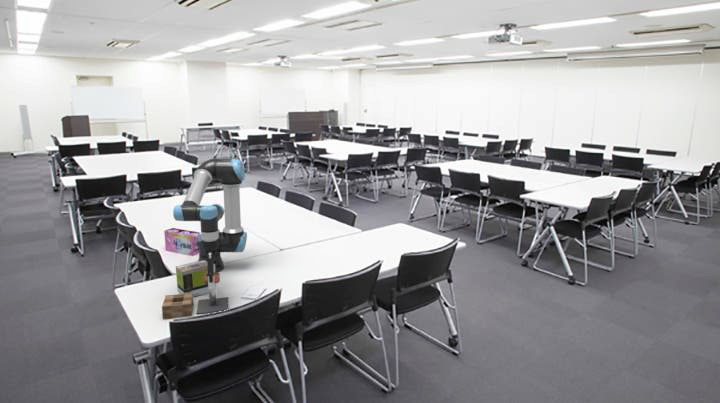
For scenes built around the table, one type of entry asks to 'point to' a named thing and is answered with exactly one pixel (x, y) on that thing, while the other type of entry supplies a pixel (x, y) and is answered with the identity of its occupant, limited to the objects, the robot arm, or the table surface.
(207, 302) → the rubber mat
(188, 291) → the tea box
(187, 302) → the eye block
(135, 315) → the table surface
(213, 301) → the copper round-headed piece
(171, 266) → the table surface
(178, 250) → the gum box
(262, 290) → the external hard drive
